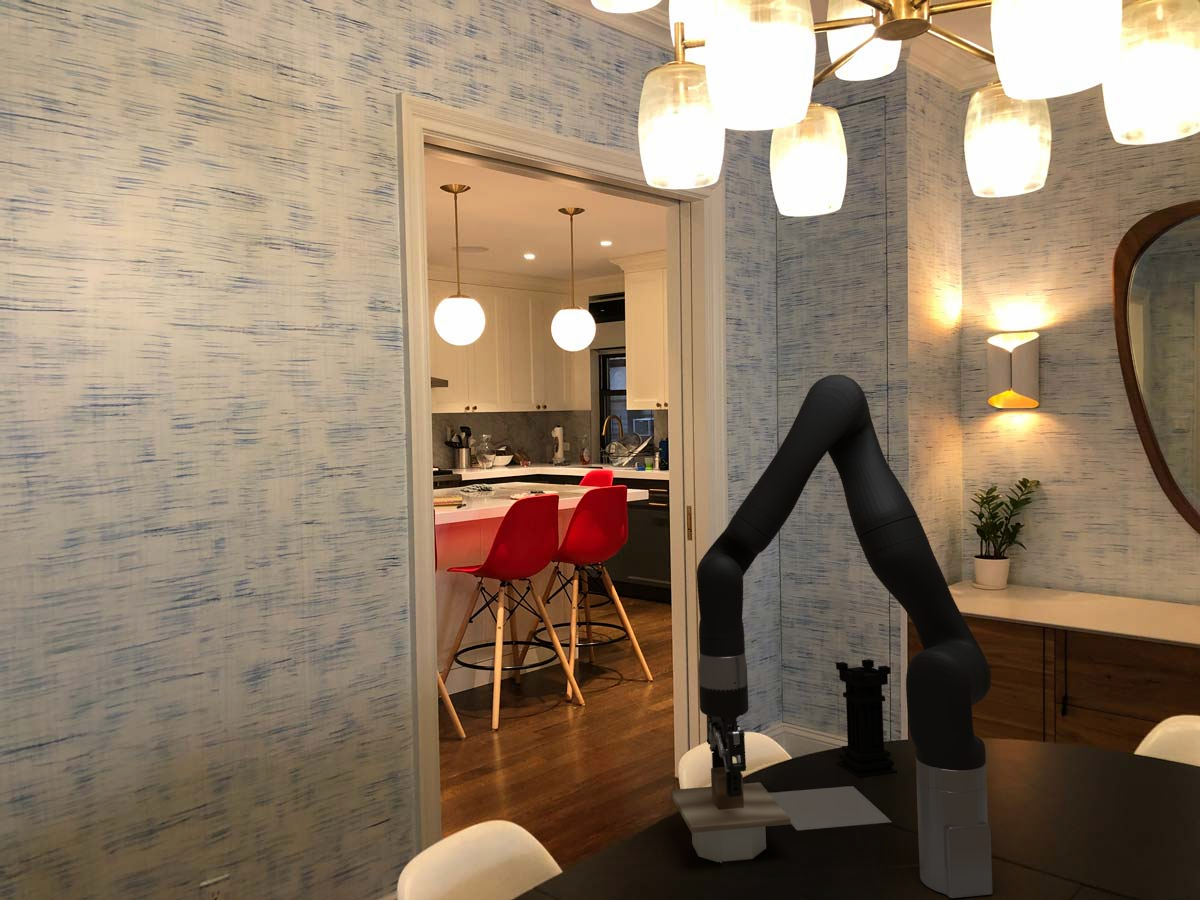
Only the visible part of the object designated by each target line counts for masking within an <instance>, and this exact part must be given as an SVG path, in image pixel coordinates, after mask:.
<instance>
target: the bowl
mask: <svg viewBox="0 0 1200 900" xmlns="http://www.w3.org/2000/svg"><path fill="white" fill-rule="evenodd" d="M766 836H767V835H766V826H765V827H754V828H742V829H731V830H720V831H709V832H698V833H691V839H692V841H691V842H692V844H691V845H692V846H693V848H694V850H695V852H696V855H697V856H698V858H699V857H700V858H703V859H705V860H706V859H707V860H710V861H713V862H716V863H719V862H720V864H723V862H732V861H733V862H734V861H744V860H753V859H754V858H755V857H757V856H758V855H759V854H760V853H762V852H763V851H764V850H766V849H767V839H766V838H767V837H766Z"/></svg>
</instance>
